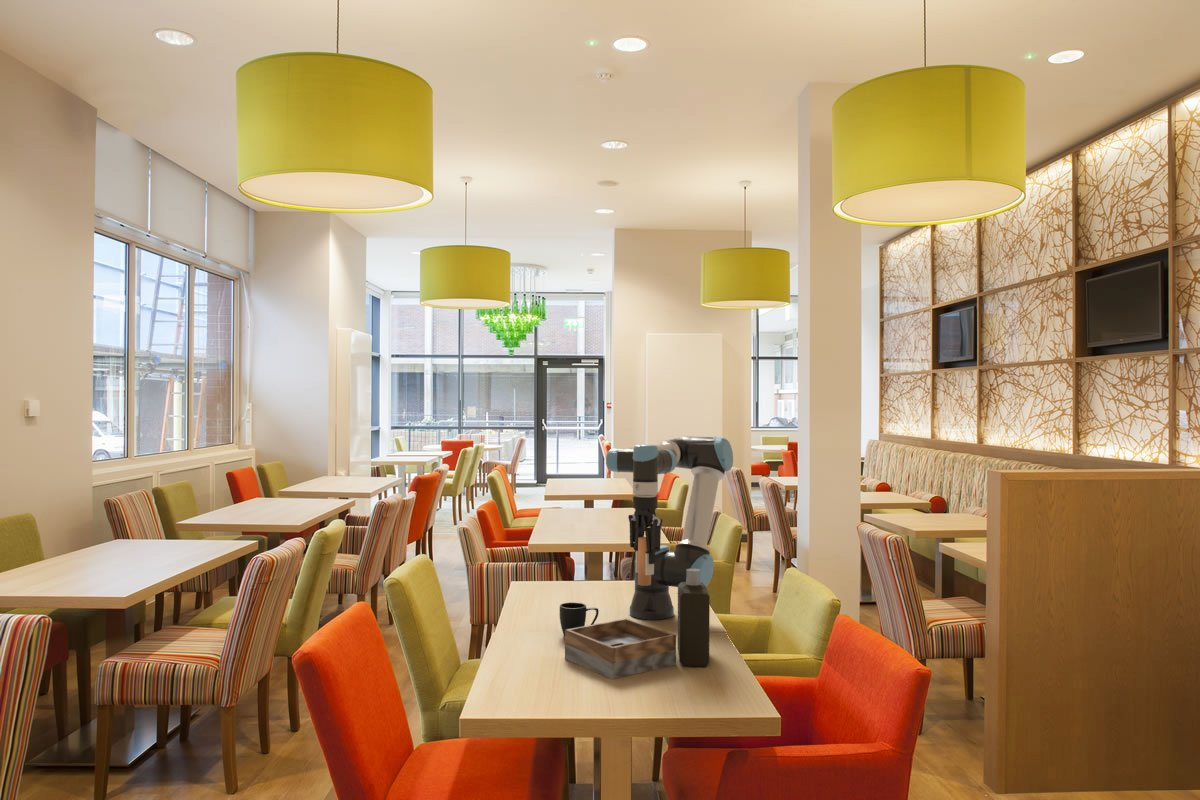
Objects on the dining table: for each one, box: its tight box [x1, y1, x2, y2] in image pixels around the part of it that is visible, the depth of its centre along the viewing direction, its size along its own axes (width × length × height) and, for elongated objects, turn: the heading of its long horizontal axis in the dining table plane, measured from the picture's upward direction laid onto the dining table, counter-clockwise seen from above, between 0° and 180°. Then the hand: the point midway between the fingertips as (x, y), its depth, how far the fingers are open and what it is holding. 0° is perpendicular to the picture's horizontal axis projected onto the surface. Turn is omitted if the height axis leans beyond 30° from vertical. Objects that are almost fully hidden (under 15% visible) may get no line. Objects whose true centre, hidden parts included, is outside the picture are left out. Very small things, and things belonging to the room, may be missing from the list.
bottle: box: [677, 568, 711, 668], centre depth 232 cm, size 8×16×25 cm, turn 177°
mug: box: [559, 601, 600, 638], centre depth 253 cm, size 8×12×10 cm
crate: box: [564, 617, 677, 680], centre depth 229 cm, size 22×22×8 cm
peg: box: [638, 536, 651, 586], centre depth 248 cm, size 4×4×14 cm
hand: (644, 573), depth 248 cm, fingers closed on peg, 4 cm apart
